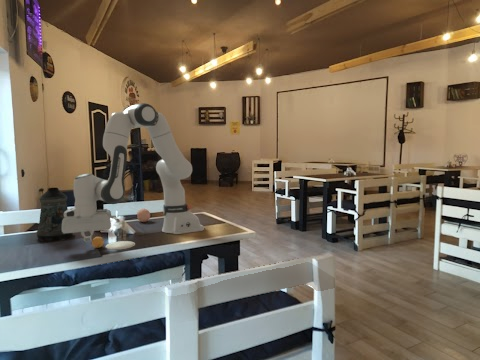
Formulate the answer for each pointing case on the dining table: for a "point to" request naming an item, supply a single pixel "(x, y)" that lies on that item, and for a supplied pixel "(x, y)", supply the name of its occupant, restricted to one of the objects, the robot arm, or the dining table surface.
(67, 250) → the dining table surface
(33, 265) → the dining table surface
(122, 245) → the cream disc
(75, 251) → the dining table surface
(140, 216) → the toy ball
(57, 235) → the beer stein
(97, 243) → the ball
